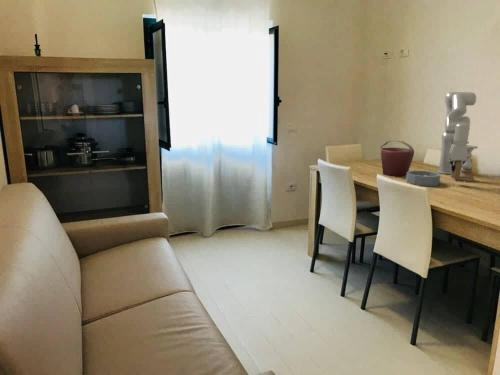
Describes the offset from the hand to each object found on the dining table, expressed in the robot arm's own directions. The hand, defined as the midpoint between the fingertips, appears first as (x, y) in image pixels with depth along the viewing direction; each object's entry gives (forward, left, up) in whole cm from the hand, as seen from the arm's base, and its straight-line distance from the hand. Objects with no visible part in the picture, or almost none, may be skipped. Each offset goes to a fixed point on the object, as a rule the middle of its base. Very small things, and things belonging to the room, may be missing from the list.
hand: (455, 171), depth 254 cm
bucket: (-30, -30, -10) cm, 44 cm away
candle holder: (-15, +13, -10) cm, 22 cm away
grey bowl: (-3, -19, -9) cm, 22 cm away
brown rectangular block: (0, 0, -5) cm, 5 cm away
